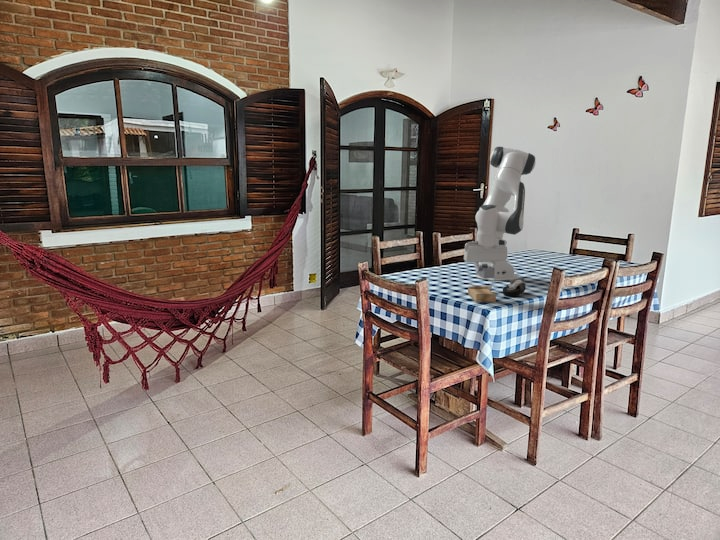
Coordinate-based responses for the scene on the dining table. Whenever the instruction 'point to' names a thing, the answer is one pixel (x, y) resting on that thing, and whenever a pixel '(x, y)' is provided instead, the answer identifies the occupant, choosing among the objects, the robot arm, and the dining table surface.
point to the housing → (486, 271)
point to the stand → (481, 294)
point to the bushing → (489, 287)
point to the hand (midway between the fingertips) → (484, 270)
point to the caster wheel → (515, 288)
